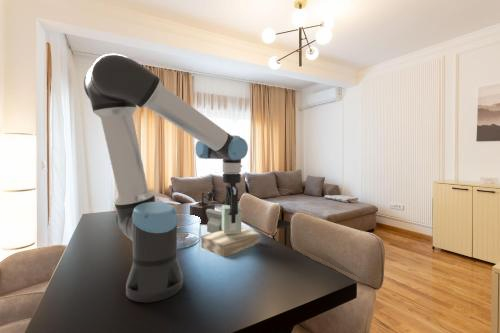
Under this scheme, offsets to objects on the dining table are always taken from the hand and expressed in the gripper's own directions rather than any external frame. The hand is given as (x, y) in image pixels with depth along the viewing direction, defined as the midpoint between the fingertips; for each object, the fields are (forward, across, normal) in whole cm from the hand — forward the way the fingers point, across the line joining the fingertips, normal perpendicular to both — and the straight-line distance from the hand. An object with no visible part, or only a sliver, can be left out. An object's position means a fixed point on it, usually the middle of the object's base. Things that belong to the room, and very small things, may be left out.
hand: (231, 227), depth 105 cm
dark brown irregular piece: (+8, +39, +7) cm, 40 cm away
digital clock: (+8, +20, +2) cm, 21 cm away
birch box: (+8, 0, 0) cm, 8 cm away
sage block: (+1, 0, 0) cm, 1 cm away
